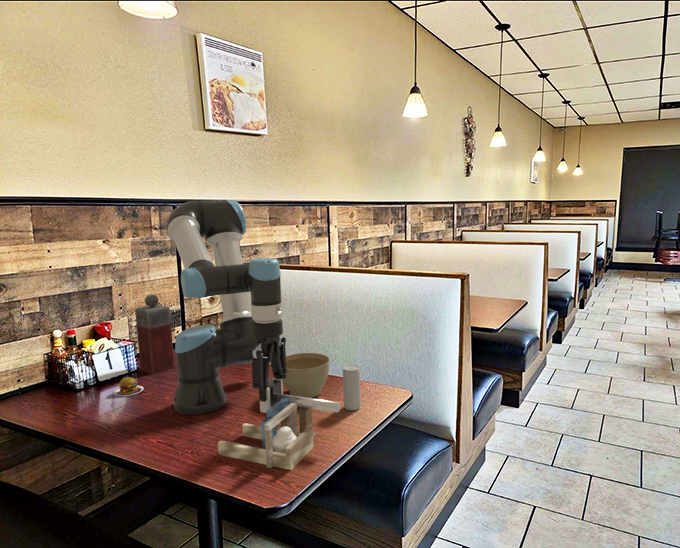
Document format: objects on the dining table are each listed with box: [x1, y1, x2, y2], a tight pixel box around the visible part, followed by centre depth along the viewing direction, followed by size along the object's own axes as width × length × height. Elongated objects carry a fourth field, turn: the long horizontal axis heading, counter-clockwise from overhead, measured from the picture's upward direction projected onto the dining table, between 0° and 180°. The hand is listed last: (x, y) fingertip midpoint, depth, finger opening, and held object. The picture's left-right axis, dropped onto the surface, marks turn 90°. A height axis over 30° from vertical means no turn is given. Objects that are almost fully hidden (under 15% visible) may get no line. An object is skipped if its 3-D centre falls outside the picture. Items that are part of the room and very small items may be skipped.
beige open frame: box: [217, 403, 315, 471], centre depth 116 cm, size 20×13×10 cm, turn 66°
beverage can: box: [342, 364, 362, 412], centre depth 139 cm, size 5×5×12 cm
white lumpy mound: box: [273, 426, 297, 453], centre depth 114 cm, size 6×6×7 cm
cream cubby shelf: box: [279, 405, 317, 438], centre depth 123 cm, size 9×4×8 cm, turn 66°
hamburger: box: [113, 376, 144, 397], centre depth 157 cm, size 12×12×6 cm
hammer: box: [260, 378, 342, 451], centre depth 117 cm, size 21×14×13 cm, turn 66°
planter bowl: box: [282, 352, 331, 399], centre depth 151 cm, size 16×16×11 cm
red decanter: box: [134, 294, 175, 375], centre depth 179 cm, size 9×11×28 cm
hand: (272, 407), depth 125 cm, fingers open, 5 cm apart
